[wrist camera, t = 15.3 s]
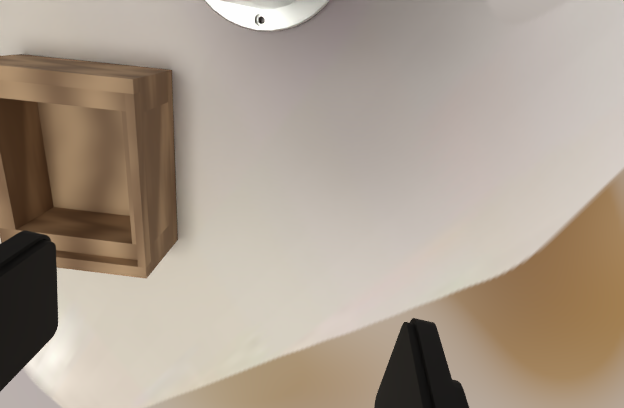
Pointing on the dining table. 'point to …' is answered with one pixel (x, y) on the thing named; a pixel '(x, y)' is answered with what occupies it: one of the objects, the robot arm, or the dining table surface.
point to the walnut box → (89, 161)
